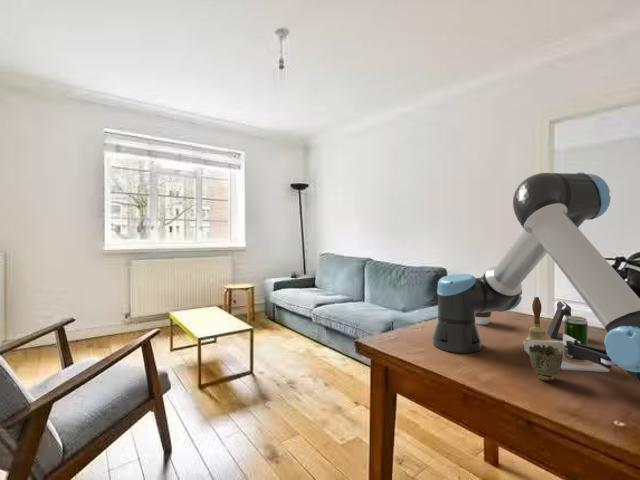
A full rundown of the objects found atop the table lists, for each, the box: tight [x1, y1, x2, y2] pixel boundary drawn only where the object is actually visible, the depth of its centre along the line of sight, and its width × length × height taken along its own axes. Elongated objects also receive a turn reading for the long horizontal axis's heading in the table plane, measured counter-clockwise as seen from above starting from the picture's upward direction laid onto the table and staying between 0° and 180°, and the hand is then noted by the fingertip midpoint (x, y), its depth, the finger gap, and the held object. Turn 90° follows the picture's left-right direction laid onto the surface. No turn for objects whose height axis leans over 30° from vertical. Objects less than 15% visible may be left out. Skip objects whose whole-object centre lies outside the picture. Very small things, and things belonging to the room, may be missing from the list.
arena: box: [523, 339, 610, 373], centre depth 101 cm, size 16×14×4 cm
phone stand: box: [546, 301, 572, 340], centre depth 121 cm, size 9×6×12 cm, turn 66°
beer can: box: [564, 315, 589, 362], centre depth 100 cm, size 5×5×12 cm
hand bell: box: [522, 296, 549, 345], centre depth 114 cm, size 8×8×16 cm
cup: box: [529, 345, 563, 382], centre depth 89 cm, size 8×7×8 cm
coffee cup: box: [475, 312, 492, 326], centre depth 141 cm, size 11×11×12 cm
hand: (591, 339), depth 93 cm, fingers open, 13 cm apart
